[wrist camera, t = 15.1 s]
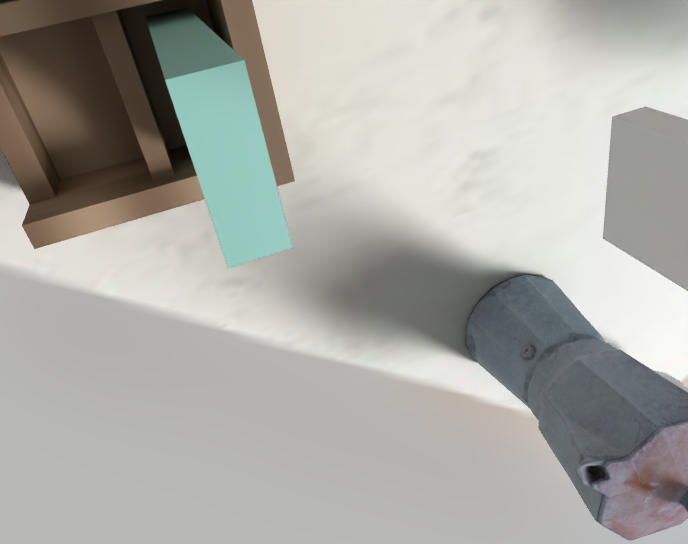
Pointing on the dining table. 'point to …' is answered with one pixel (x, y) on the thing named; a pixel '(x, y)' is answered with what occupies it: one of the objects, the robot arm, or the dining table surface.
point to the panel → (221, 135)
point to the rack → (108, 110)
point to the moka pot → (589, 404)
